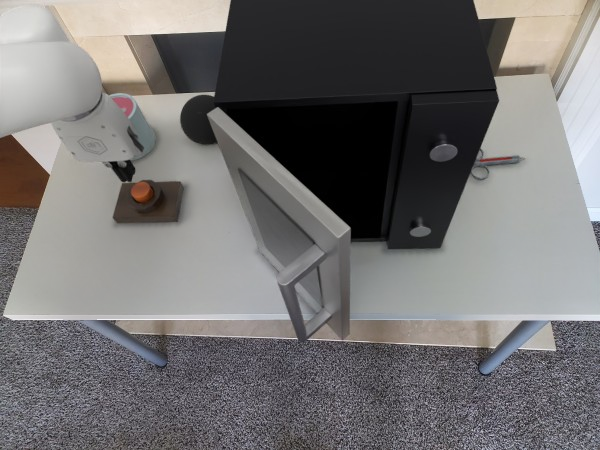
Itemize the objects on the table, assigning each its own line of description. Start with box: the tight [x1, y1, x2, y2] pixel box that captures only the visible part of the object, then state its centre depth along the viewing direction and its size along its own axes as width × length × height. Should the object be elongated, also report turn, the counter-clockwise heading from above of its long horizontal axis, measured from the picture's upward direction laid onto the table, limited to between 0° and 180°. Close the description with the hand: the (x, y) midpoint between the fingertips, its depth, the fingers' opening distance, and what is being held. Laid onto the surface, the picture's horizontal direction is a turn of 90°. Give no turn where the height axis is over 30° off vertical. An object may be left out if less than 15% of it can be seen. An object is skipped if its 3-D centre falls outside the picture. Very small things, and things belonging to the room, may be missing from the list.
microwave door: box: [207, 107, 352, 343], centre depth 59 cm, size 7×22×35 cm, turn 40°
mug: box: [108, 92, 157, 161], centre depth 92 cm, size 14×9×10 cm
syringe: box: [470, 148, 528, 181], centre depth 84 cm, size 8×18×2 cm, turn 92°
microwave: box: [213, 0, 500, 250], centre depth 70 cm, size 30×31×35 cm
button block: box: [112, 179, 185, 224], centre depth 85 cm, size 8×12×4 cm, turn 88°
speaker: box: [179, 94, 218, 146], centre depth 90 cm, size 10×10×10 cm
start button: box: [131, 181, 153, 203], centre depth 83 cm, size 4×4×2 cm
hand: (128, 175), depth 78 cm, fingers closed
